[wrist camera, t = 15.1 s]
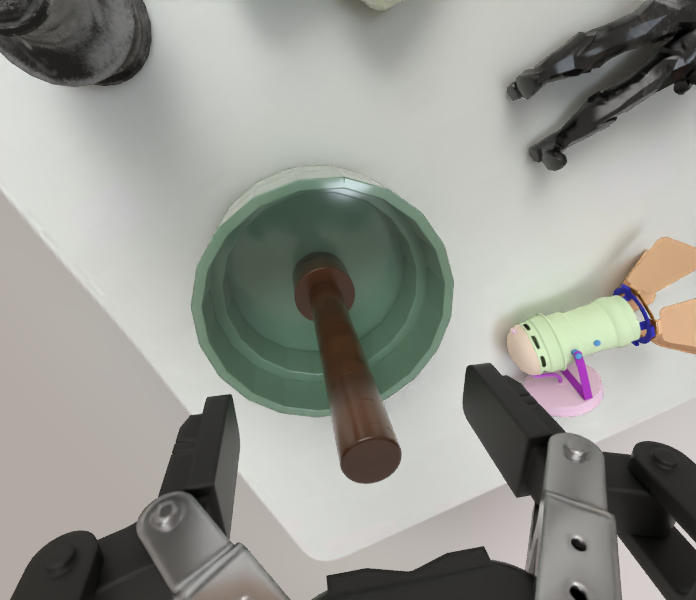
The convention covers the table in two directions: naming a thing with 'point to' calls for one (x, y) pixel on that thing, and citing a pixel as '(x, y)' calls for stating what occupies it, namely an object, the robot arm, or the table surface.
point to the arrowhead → (381, 4)
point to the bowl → (278, 293)
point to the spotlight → (603, 332)
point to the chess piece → (76, 39)
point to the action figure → (652, 76)
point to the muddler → (346, 370)
